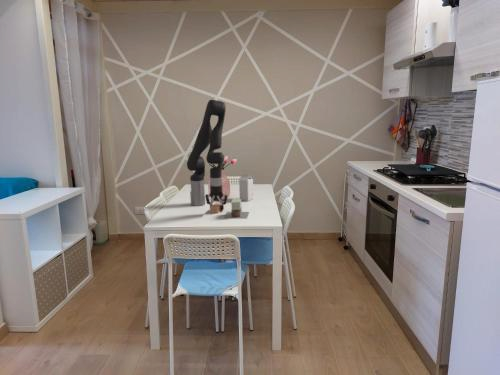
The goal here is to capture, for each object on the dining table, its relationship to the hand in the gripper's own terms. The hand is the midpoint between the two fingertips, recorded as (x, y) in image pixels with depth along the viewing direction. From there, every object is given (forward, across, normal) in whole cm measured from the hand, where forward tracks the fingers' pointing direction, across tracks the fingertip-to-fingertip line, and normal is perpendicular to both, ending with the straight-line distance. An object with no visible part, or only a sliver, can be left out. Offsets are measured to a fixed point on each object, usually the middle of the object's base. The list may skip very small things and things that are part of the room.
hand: (216, 210), depth 229 cm
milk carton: (+2, +14, +36) cm, 39 cm away
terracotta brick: (+1, 0, 0) cm, 1 cm away
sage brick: (-4, +14, -8) cm, 16 cm away
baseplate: (+2, +14, -8) cm, 16 cm away
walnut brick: (0, +14, -8) cm, 16 cm away
